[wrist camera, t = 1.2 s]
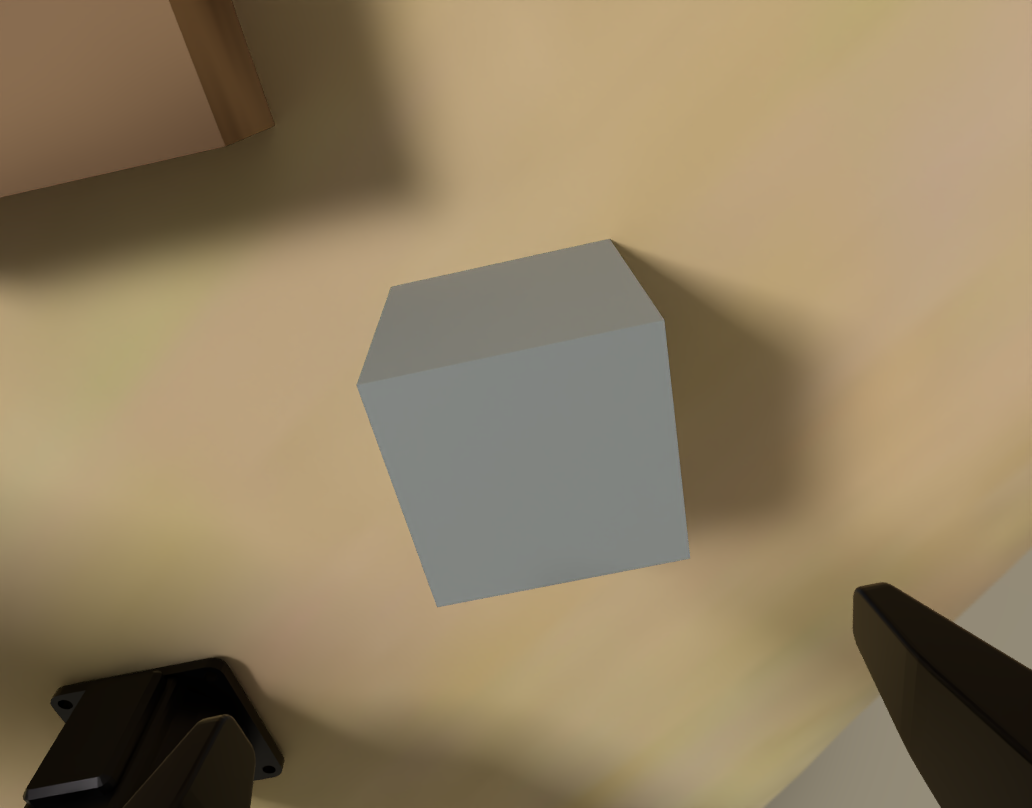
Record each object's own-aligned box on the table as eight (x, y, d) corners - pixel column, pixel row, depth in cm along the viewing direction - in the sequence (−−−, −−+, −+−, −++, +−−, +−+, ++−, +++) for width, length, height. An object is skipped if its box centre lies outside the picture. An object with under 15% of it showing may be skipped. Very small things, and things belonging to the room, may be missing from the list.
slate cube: (636, 427, 21) (690, 558, 15) (447, 465, 21) (437, 607, 16) (609, 237, 18) (664, 320, 13) (391, 286, 18) (356, 385, 13)
